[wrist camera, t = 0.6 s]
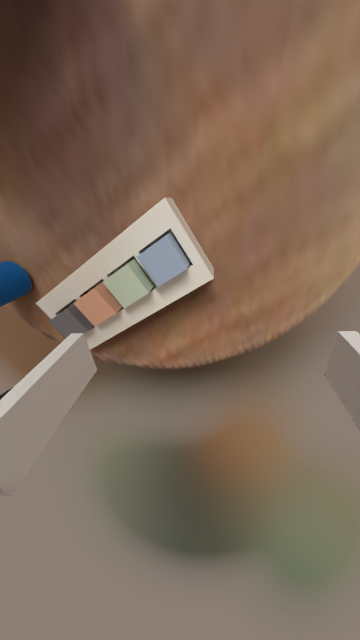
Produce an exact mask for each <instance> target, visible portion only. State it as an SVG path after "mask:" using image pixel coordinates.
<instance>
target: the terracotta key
mask: <svg viewBox="0 0 360 640" xmlns="http://www.w3.org/2000/svg"><path fill="white" fill-rule="evenodd" d="M73 304H74V305H75V306H76V307H77V308H78V309H79V310H80V311H81V312H82V313H83V315H84V316H85V317H86V318H87V319H88V320H89V321H90V322H91V323H92V324H93V325H94V326H95V327H96V326H97V325H99V324H100V323H102V322H103V321H105V320H107V319H108V318H110V317H111V316H113V315H115V314H116V313H117V312H118V311H119V310H120V308H121V307H122V305H121V304H120V303H119V302H118V300H117V299H116V298H115V297H114V296H113V294H112V293H111V292H110V291H109V290H108V288H107V287H106V286H105V285H104V284H103V282H102V283H100V284H99V285H98V286H96V287H95V288H93V289H92V290H91V291H89V292H88V293H87V294H85V295H84V296H83V297H81V298H80V299H78V300H77V301H76V302H74V303H73Z"/></svg>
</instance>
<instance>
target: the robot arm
mask: <svg viewBox="0 0 360 640" xmlns="http://www.w3.org/2000/svg"><path fill="white" fill-rule="evenodd" d="M96 371H97V369H96V366H95V363H94V360H93V358H92V355H91V352H90V350H89V347H88V344H87V341H86V339H85V336H84V333H71V334H70V335H69V336H68V337H67V338H66V339H65V340H64V341H63V342H62V343H61V344H59V345H58V346H57V348H55V349H54V350H53V351H52V352H51V353H50V354H49V355H48V356H47V357H46V358H44V359H43V360H42V361H41V362H40V363H39V364H38V365H37V366H36V367H35V368H34V369H33V370H32V371H31V372H30V373H28V375H26V376H25V377H24V378H23V379H22V380H21V381H20V382H19V383H18V384H17V385H16V386H15V387H12V388H11V389H9V390H8V391H6V392H5V393H3V394H2V395H0V495H5V496H11V495H12V493H13V492H14V490H15V489H16V487H17V486H18V484H19V483H20V481H21V480H22V478H23V477H24V476H25V474H26V473H27V471H28V470H29V468H30V467H31V465H32V464H33V463H34V461H35V460H36V458H37V457H38V455H39V454H40V452H41V451H42V449H43V448H44V447H45V445H46V444H47V442H48V441H49V439H50V438H51V436H52V435H53V433H54V432H55V430H56V429H57V428H58V426H59V425H60V423H61V422H62V420H63V419H64V417H65V416H66V414H67V413H68V411H69V410H70V408H71V407H72V406H73V404H74V403H75V401H76V400H77V398H78V397H79V396H80V394H81V393H82V391H83V390H84V388H85V387H86V385H87V384H88V382H89V381H90V379H91V378H92V376H93V375H94V374H95V372H96ZM324 376H325V377H326V379H327V380H328V382H329V383H330V385H331V386H332V388H333V390H334V391H335V393H336V394H337V396H338V397H339V399H340V401H341V402H342V404H343V405H344V407H345V408H346V410H347V412H348V413H349V415H350V416H351V418H352V419H353V421H354V422H355V424H356V426H357V427H358V429H359V430H360V334H359V333H358V332H356V331H338V332H337V336H336V339H335V342H334V345H333V349H332V352H331V355H330V358H329V362H328V365H327V368H326V371H325V375H324Z"/></svg>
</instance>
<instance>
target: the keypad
mask: <svg viewBox="0 0 360 640" xmlns="http://www.w3.org/2000/svg"><path fill="white" fill-rule="evenodd" d="M169 233H171V234H172V236H173V238H174V239H175V241H176V242H177V244H178V245H179V247H180V249H181V250H182V252H183V253H184V255H185V256H186V258H187V260H188V261H189V266H188V268H187V269H186V270H184V271H183V272H181V273H180V274H178V275H177V276H175V277H173V278H172V279H170V280H169V281H167V282H165V283H164V284H162V285H161V286H159V287H158V286H157V285H156V283H155V282H154V280H153V279H152V278H151V276H150V275H149V274H148V272H147V271H146V269H145V268H144V267H143V265H142V264H141V263H140V261H139V260H138V258H137V256H138V255H140V254H141V253H143V252H144V251H145V250H147V249H148V248H149V247H151V246H152V245H153V244H155V243H156V242H158V241H159V240H160V239H162V238H163V237H164V236H166V235H167V234H169ZM133 259H135V260H136V262H137V263H138V264H139V266H140V267H141V269H142V270H143V271H144V273H145V274H146V275H147V277H148V278H149V280H150V281H151V282H152V284H153V285H154V286H153V288H152V289H151V291H150V292H149V293H148V294H146V295H145V296H143V297H142V298H140V299H138V300H137V301H135V302H134V303H132V304H130V305H129V306H127V307H126V308H123V306H122V307H121V308H120V310H119V311H118V312H117V313H116V314H115V315H113V316H111V317H110V318H108V319H107V320H105V321H103V322H102V323H100V324H99V325H97V326H96V327H95V326H93V327H92V328H91V329H90V330H89V331H88V332H86V333H84V336H85V339H86V341H87V344H88V347H89V350H91V349H92V348H94V347H96V346H98V345H99V344H101V343H103V342H104V341H106V340H108V339H110V338H111V337H113V336H115V335H117V334H118V333H120V332H122V331H124V330H125V329H127V328H129V327H130V326H132V325H134V324H136V323H137V322H139V321H141V320H143V319H144V318H146V317H148V316H150V315H151V314H153V313H155V312H156V311H158V310H160V309H162V308H163V307H165V306H167V305H169V304H170V303H172V302H174V301H176V300H177V299H179V298H181V297H182V296H184V295H186V294H188V293H189V292H191V291H193V290H195V289H196V288H198V287H200V286H202V285H203V284H205V283H207V282H208V281H210V280H212V279H214V268H213V267H212V265H211V263H210V262H209V260H208V258H207V257H206V255H205V253H204V252H203V250H202V248H201V246H200V245H199V243H198V241H197V240H196V238H195V236H194V235H193V233H192V231H191V230H190V228H189V226H188V225H187V223H186V221H185V220H184V218H183V216H182V215H181V213H180V211H179V210H178V208H177V206H176V204H175V203H174V201H173V199H172V198H164V199H162V200H161V201H160V202H159V203H158V204H156V205H155V206H154V207H153V208H151V209H150V210H149V211H148V212H147V213H145V214H144V215H143V216H142V217H140V218H139V219H138V220H137V221H136V222H134V223H133V224H132V225H131V226H129V227H128V228H127V229H126V230H125V231H123V232H122V233H121V234H120V235H118V236H117V237H116V238H115V239H114V240H112V241H111V242H110V243H109V244H108V245H106V246H105V247H104V248H103V249H101V250H100V251H99V252H98V253H97V254H95V255H94V256H93V257H92V258H90V259H89V260H88V261H87V262H86V263H84V264H83V265H82V266H81V267H79V268H78V269H77V270H76V271H75V272H73V273H72V274H71V275H70V276H68V277H67V278H66V279H65V280H64V281H62V282H61V283H60V284H59V285H57V286H56V287H55V288H54V289H53V290H51V291H50V292H49V293H48V294H46V295H45V296H44V297H43V298H42V299H40V300H39V301H38V302H37V303H36V304H37V305H38V306H39V307H40V308H41V309H42V310H43V311H44V312H45V313H46V314H47V315H48V316H49V317H50V318H51V319H53V318H54V317H55V316H57V315H58V314H59V313H61V312H62V311H63V310H65V309H66V308H68V307H69V306H70V305H72V304H73V303H74V302H76V301H77V300H78V299H80V298H81V297H83V296H84V295H85V294H87V293H88V292H89V291H91V290H92V289H93V288H95V287H96V286H98V285H99V284H100V283H102V282H103V281H104V280H106V279H107V278H108V277H110V276H111V275H113V274H114V273H115V272H117V271H118V270H119V269H121V268H122V267H123V266H125V265H126V264H128V263H129V262H130V261H132V260H133Z"/></svg>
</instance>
